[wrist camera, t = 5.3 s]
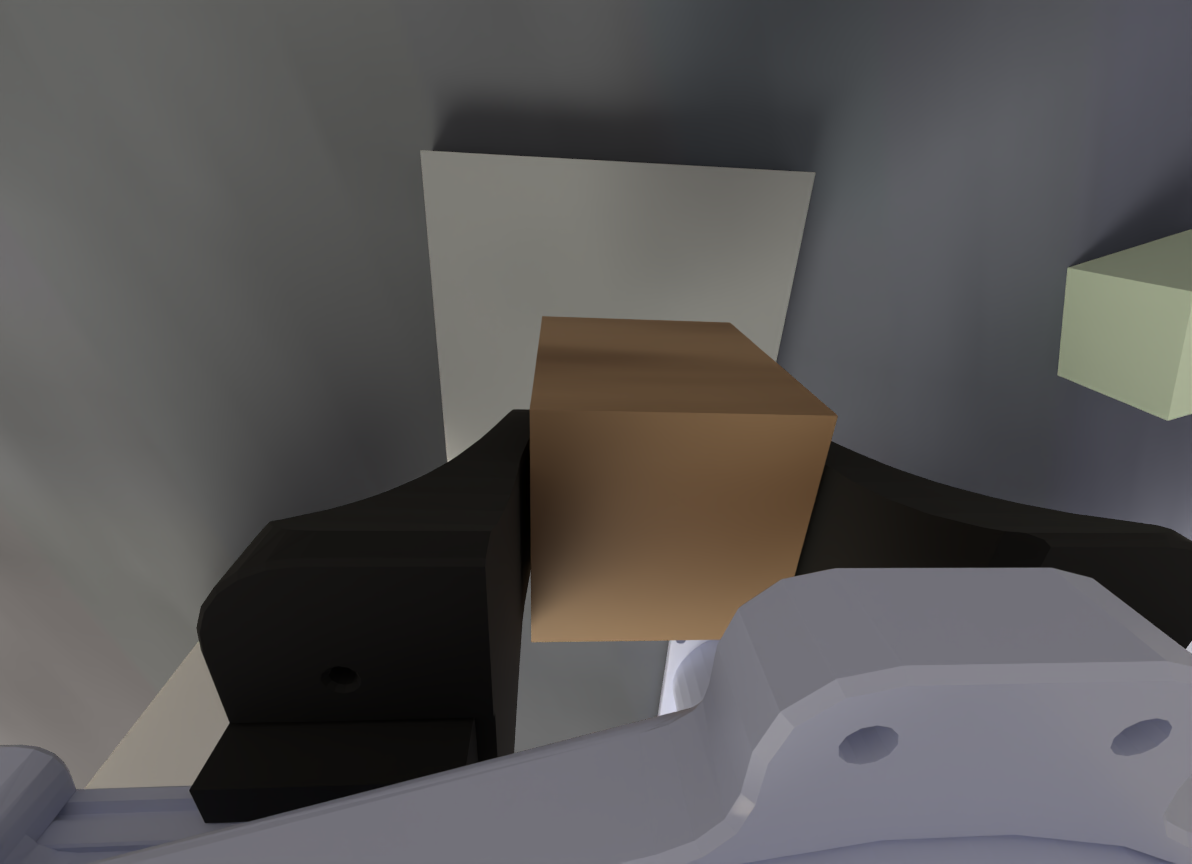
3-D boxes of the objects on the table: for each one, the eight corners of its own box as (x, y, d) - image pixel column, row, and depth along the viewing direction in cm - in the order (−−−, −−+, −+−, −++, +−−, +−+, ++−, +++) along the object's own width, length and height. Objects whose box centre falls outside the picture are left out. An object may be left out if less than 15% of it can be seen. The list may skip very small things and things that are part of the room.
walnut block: (704, 482, 15) (777, 638, 10) (541, 481, 14) (531, 641, 9) (729, 322, 13) (837, 415, 8) (542, 316, 12) (529, 409, 7)
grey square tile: (736, 479, 23) (747, 498, 22) (457, 476, 22) (450, 495, 21) (796, 172, 18) (815, 172, 16) (431, 152, 17) (420, 150, 15)
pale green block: (1168, 340, 21) (1309, 380, 17) (1055, 374, 22) (1167, 420, 18) (1191, 228, 19) (1355, 243, 15) (1065, 267, 20) (1194, 292, 16)
